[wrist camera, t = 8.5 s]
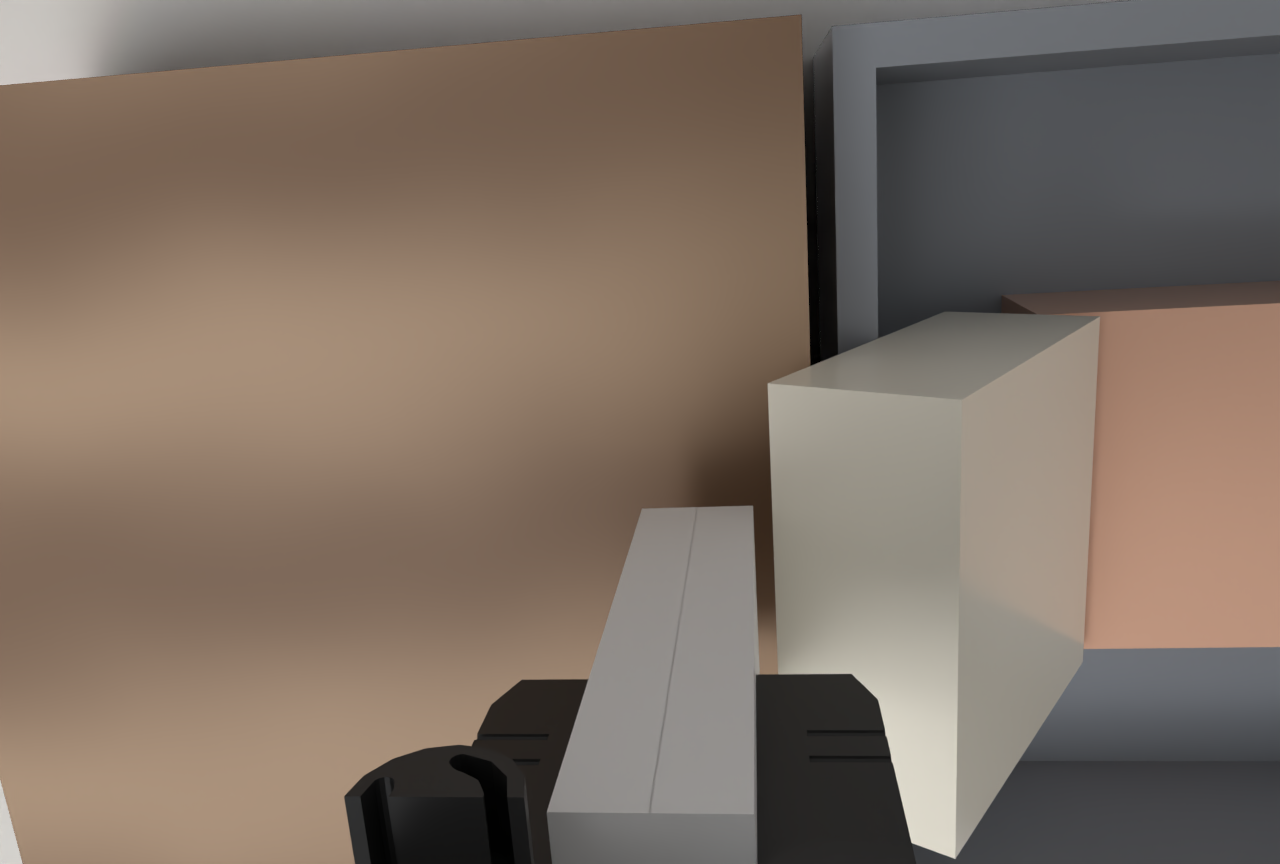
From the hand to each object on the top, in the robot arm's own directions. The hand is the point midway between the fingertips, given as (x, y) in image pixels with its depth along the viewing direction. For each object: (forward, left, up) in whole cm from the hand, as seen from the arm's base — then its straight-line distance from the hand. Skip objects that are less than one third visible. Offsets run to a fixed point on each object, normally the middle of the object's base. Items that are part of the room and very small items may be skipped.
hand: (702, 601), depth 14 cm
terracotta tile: (0, -8, -4) cm, 9 cm away
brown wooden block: (0, +5, -7) cm, 9 cm away
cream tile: (0, -2, -3) cm, 4 cm away
